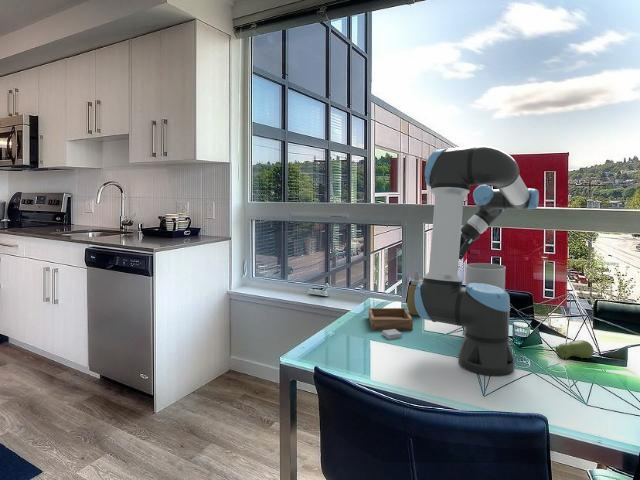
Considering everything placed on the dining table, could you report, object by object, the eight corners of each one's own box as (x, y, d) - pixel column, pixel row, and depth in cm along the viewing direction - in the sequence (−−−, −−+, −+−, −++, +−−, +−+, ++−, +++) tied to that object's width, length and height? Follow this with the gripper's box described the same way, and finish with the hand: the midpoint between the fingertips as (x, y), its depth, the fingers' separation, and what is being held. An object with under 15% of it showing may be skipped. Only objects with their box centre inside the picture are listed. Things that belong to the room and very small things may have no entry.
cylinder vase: (462, 339, 139) (463, 267, 136) (467, 328, 150) (469, 262, 147) (501, 345, 133) (504, 270, 130) (504, 333, 144) (506, 264, 141)
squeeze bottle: (405, 315, 166) (406, 273, 164) (407, 310, 174) (407, 269, 172) (426, 317, 164) (426, 273, 162) (426, 311, 172) (427, 270, 170)
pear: (595, 343, 118) (557, 346, 121) (597, 360, 119) (560, 363, 121) (587, 337, 124) (552, 339, 126) (590, 353, 124) (554, 356, 127)
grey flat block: (401, 338, 141) (401, 333, 141) (388, 340, 140) (388, 335, 139) (394, 334, 146) (394, 328, 146) (382, 335, 144) (382, 330, 144)
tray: (412, 330, 149) (412, 319, 148) (371, 330, 149) (371, 319, 149) (405, 317, 164) (405, 308, 163) (368, 317, 164) (368, 308, 164)
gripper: (494, 238, 153) (454, 279, 154) (467, 231, 177) (434, 266, 179) (480, 225, 152) (441, 266, 153) (456, 219, 177) (422, 255, 178)
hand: (437, 266), depth 166 cm, fingers open, 13 cm apart
